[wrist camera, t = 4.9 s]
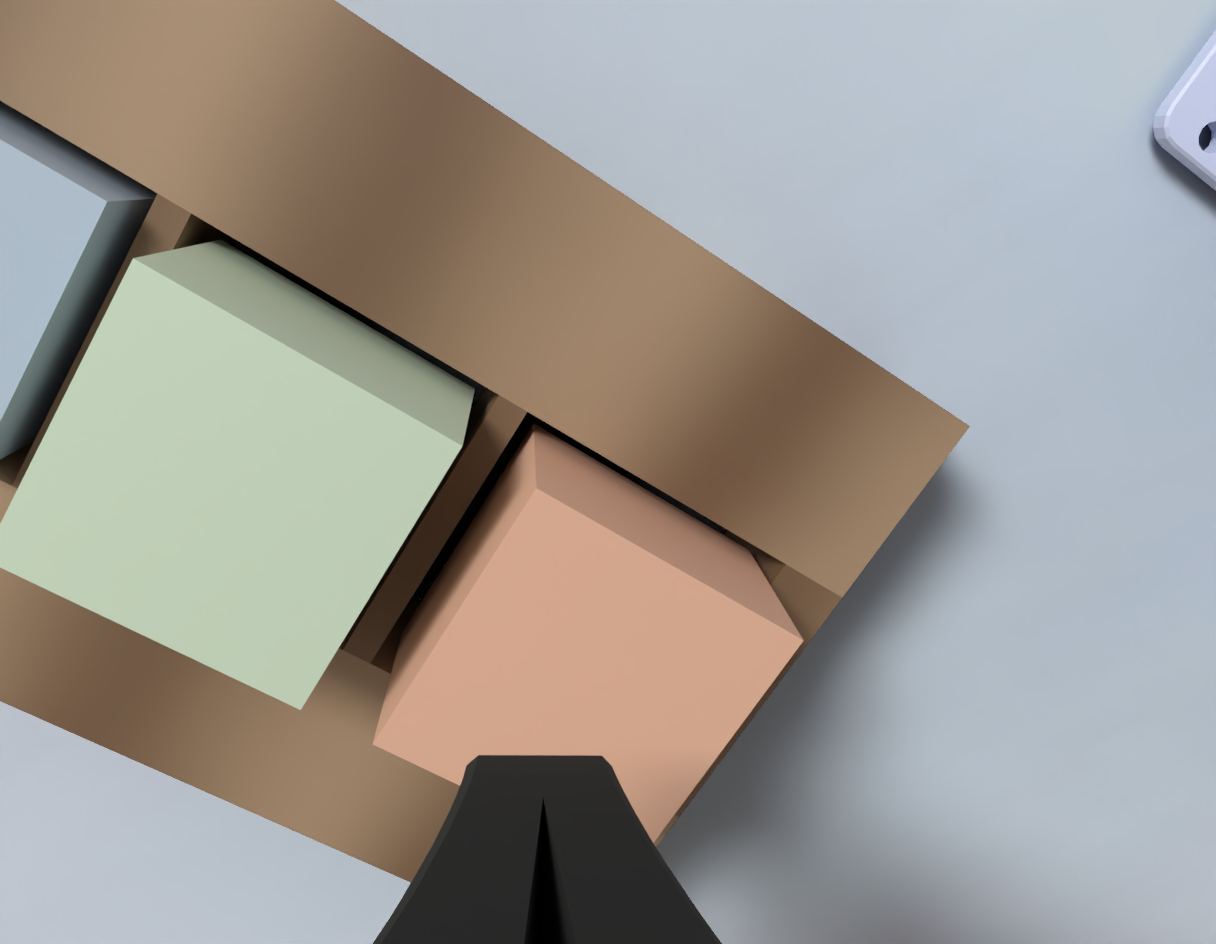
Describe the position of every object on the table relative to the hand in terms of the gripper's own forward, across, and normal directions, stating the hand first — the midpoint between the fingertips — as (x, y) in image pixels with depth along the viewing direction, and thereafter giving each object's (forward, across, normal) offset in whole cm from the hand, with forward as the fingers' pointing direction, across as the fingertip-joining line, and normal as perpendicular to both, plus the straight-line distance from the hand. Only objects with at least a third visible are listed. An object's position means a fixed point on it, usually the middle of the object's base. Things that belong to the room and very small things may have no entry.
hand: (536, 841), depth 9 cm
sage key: (+7, +4, -2) cm, 9 cm away
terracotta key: (+7, -1, +1) cm, 7 cm away
